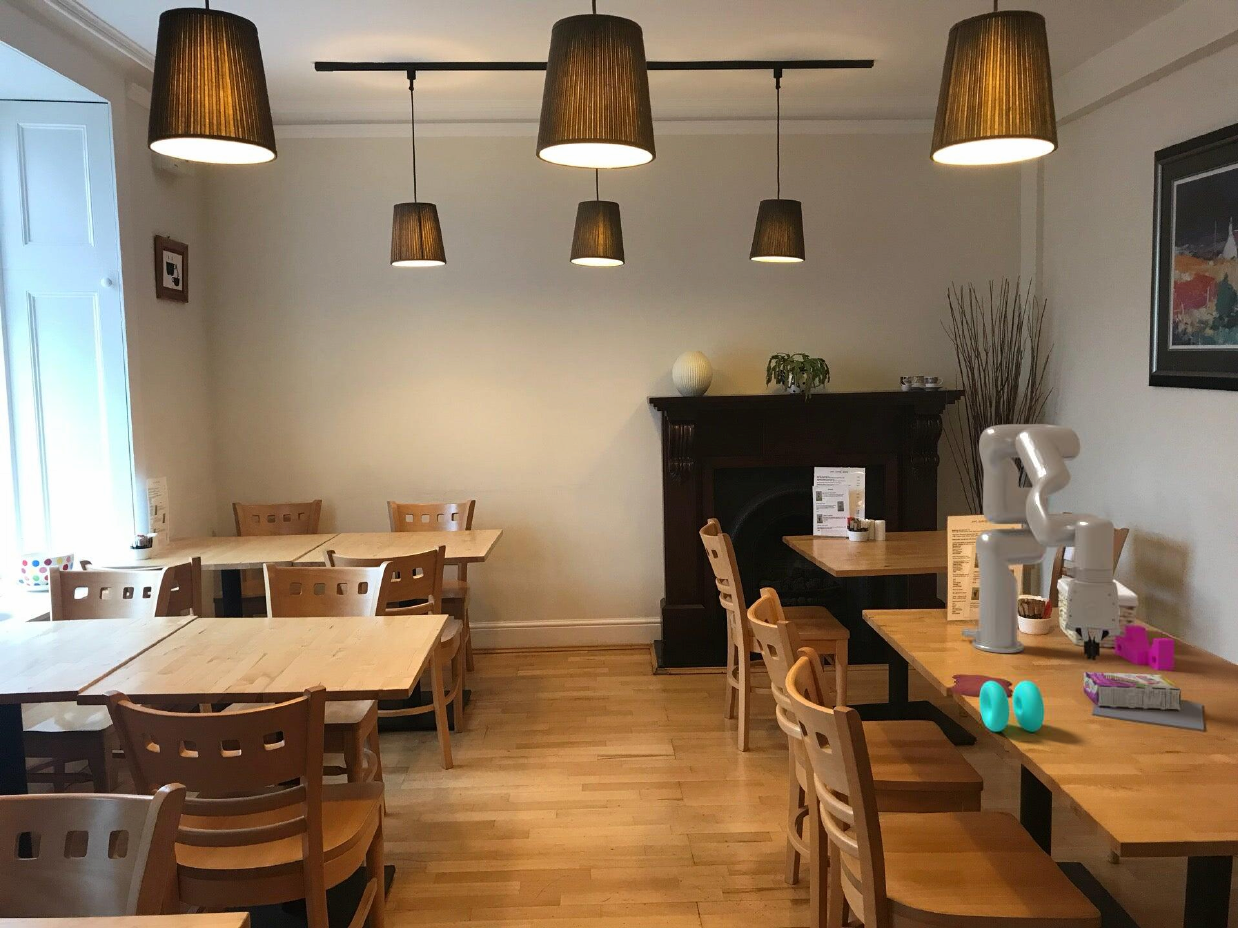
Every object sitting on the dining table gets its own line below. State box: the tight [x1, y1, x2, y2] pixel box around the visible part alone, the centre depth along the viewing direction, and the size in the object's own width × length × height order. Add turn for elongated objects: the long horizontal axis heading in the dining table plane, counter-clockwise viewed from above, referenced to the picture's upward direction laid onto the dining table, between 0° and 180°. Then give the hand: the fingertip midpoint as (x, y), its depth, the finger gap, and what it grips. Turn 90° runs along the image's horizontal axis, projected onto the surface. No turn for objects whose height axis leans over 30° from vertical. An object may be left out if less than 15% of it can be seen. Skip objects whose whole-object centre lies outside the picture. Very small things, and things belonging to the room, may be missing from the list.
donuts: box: [978, 680, 1045, 733], centre depth 188 cm, size 10×10×10 cm
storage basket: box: [1056, 577, 1139, 648], centre depth 258 cm, size 24×16×15 cm
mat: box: [1091, 700, 1205, 732], centre depth 199 cm, size 20×18×1 cm
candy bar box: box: [1083, 671, 1182, 711], centre depth 203 cm, size 11×5×16 cm
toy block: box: [1114, 624, 1175, 671], centre depth 235 cm, size 15×6×8 cm, turn 0°
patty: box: [950, 673, 1014, 699], centre depth 215 cm, size 18×14×2 cm
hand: (1091, 658), depth 204 cm, fingers closed
